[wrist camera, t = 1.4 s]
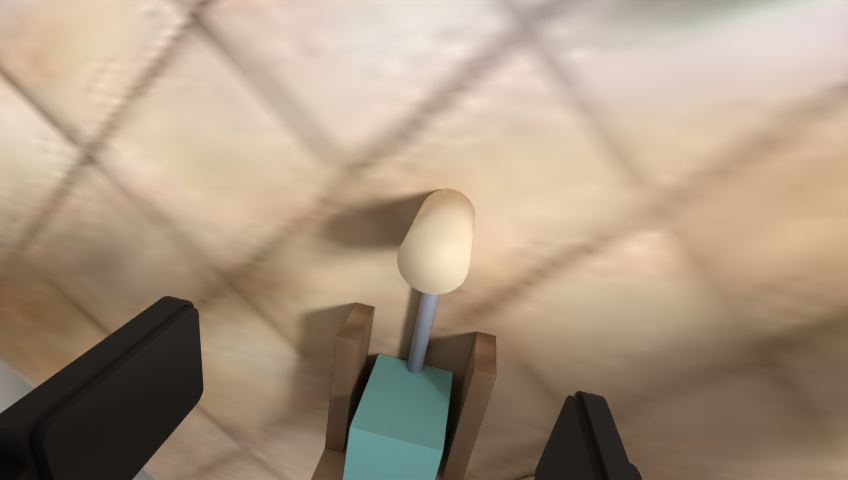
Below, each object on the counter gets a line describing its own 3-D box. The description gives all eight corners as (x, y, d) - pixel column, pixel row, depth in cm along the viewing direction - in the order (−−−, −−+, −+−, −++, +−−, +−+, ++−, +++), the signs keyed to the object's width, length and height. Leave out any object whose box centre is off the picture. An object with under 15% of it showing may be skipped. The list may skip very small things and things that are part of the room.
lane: (495, 336, 25) (496, 411, 19) (460, 450, 29) (453, 538, 23) (356, 302, 25) (319, 366, 20) (341, 418, 29) (307, 498, 24)
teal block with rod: (407, 179, 22) (379, 216, 16) (498, 199, 21) (501, 244, 16) (370, 408, 29) (341, 488, 23) (438, 426, 28) (426, 511, 23)
